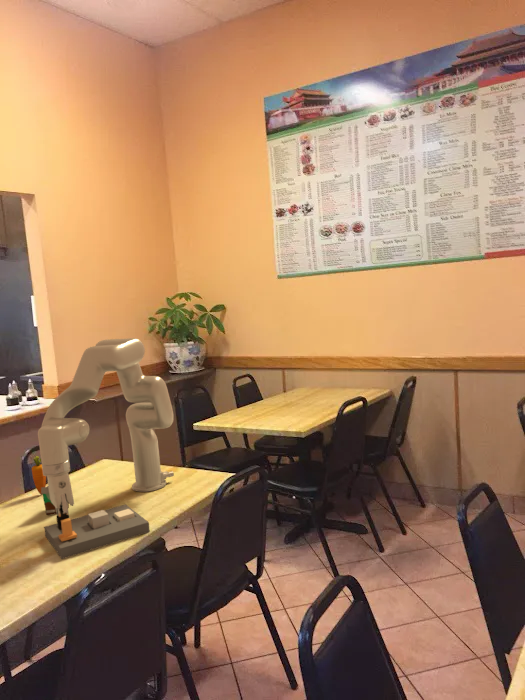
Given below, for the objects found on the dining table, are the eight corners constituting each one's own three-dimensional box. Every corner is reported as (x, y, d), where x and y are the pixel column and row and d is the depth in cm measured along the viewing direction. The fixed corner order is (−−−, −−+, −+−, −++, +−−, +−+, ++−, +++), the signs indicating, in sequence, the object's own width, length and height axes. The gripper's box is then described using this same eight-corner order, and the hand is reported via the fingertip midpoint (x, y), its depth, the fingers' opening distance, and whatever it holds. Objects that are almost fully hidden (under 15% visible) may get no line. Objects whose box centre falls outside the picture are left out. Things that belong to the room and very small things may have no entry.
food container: (60, 516, 196) (57, 487, 195) (43, 516, 197) (40, 487, 196) (79, 502, 208) (75, 475, 207) (63, 502, 209) (60, 475, 208)
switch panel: (126, 513, 194) (125, 504, 194) (149, 531, 177) (148, 521, 177) (45, 536, 180) (44, 526, 180) (61, 558, 163) (60, 548, 163)
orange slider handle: (73, 533, 172) (71, 516, 172) (77, 537, 169) (75, 519, 169) (58, 537, 170) (56, 520, 169) (61, 541, 167) (59, 524, 166)
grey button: (104, 522, 182) (103, 509, 182) (109, 526, 178) (108, 514, 178) (89, 526, 180) (87, 514, 179) (94, 531, 176) (92, 518, 175)
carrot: (36, 493, 222) (32, 454, 220) (50, 491, 222) (45, 453, 221) (32, 497, 217) (27, 458, 216) (46, 496, 218) (41, 457, 216)
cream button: (130, 520, 187) (128, 508, 186) (135, 525, 183) (134, 512, 182) (115, 525, 184) (114, 512, 184) (120, 529, 180) (119, 517, 180)
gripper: (76, 470, 166) (84, 532, 168) (63, 459, 178) (70, 516, 181) (48, 476, 162) (57, 540, 164) (37, 464, 174) (45, 523, 177)
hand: (64, 527), depth 172 cm, fingers closed
